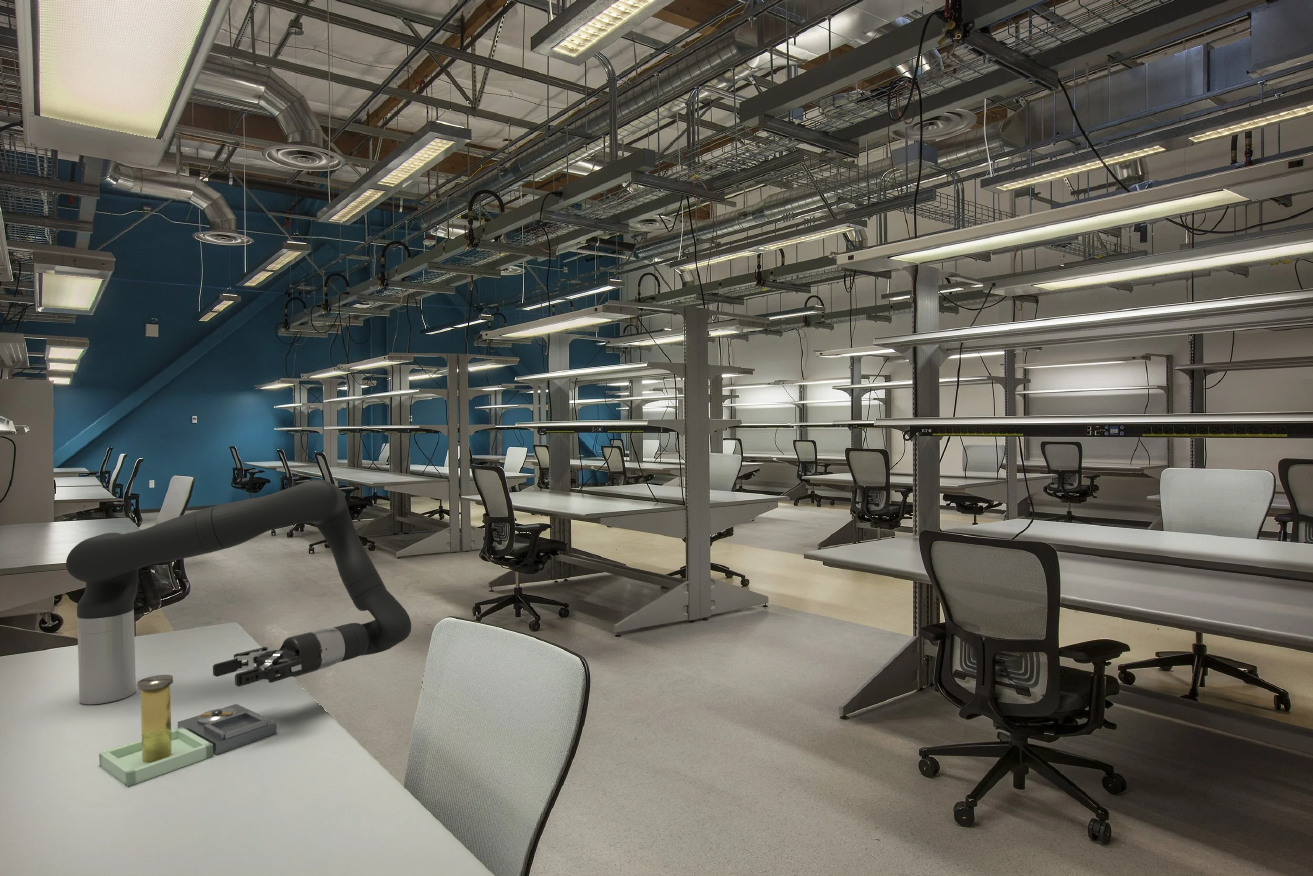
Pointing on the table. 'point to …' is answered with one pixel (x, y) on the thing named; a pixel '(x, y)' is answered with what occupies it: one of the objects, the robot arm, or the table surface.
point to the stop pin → (156, 717)
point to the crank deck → (229, 727)
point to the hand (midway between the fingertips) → (224, 675)
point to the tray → (133, 770)
